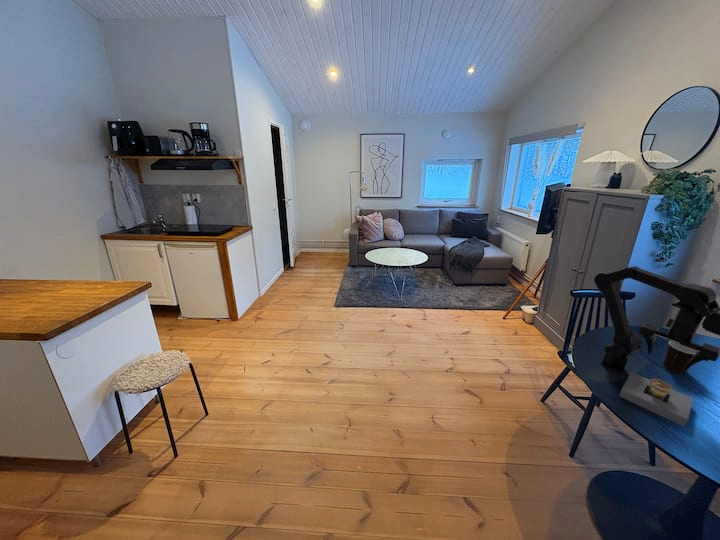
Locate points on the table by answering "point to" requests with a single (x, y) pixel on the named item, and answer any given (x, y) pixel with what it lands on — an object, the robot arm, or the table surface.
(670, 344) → the coffee mug
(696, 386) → the table surface
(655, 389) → the brass fitting
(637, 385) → the flange socket
